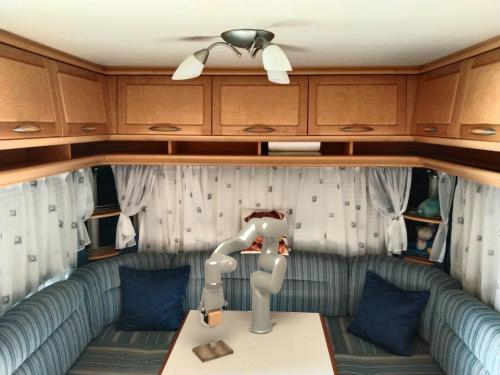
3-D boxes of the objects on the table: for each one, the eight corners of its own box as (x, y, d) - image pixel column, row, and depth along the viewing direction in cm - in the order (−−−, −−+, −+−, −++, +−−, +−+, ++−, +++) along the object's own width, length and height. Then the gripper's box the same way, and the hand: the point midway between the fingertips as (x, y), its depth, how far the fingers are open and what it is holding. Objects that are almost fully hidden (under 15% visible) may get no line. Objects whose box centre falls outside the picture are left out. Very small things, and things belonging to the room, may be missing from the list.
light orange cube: (215, 318, 216) (215, 307, 215) (222, 323, 210) (222, 312, 209) (203, 321, 212) (203, 310, 212) (209, 326, 207) (209, 315, 206)
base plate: (221, 342, 223) (221, 333, 222) (233, 353, 213) (233, 343, 212) (192, 351, 215) (192, 341, 214) (203, 362, 204) (202, 352, 204)
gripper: (225, 279, 216) (225, 314, 219) (192, 285, 207) (192, 322, 210) (233, 284, 210) (232, 320, 213) (199, 291, 201) (199, 328, 204)
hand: (212, 321), depth 211 cm, fingers closed on light orange cube, 6 cm apart
